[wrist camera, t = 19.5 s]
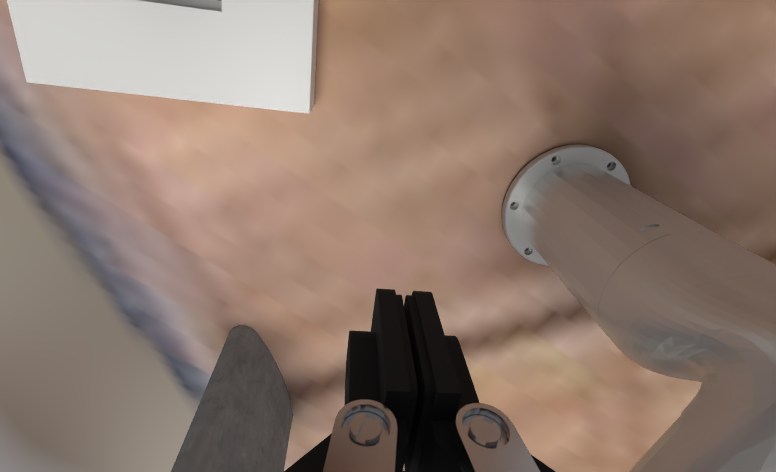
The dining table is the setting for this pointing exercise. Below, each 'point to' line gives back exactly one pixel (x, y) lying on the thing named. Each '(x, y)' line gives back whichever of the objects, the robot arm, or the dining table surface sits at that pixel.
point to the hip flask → (240, 413)
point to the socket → (174, 48)
